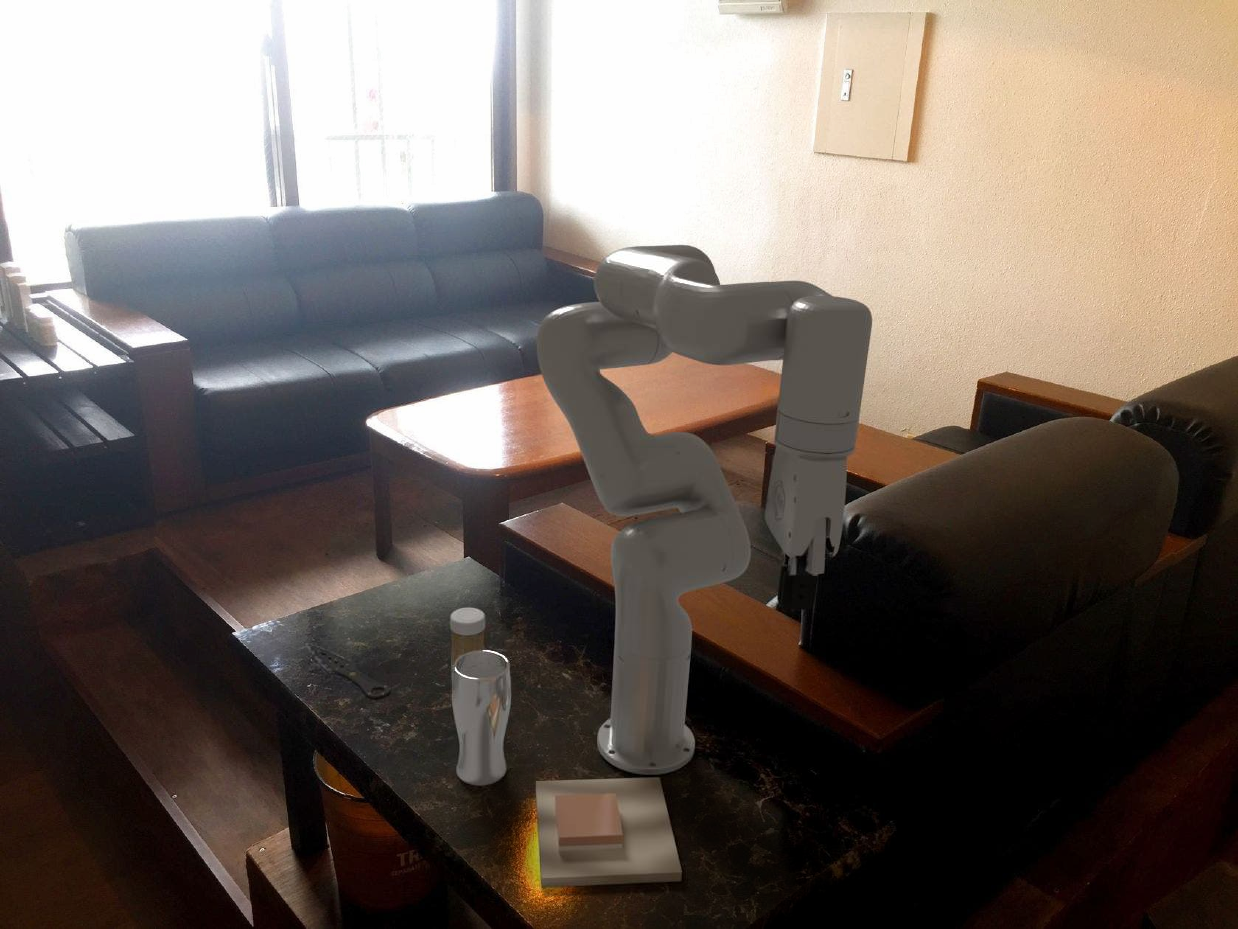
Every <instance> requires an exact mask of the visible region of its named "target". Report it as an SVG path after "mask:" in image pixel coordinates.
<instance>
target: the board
mask: <svg viewBox="0 0 1238 929" xmlns="http://www.w3.org/2000/svg"><path fill="white" fill-rule="evenodd" d="M586 794H616V798H617V804H618V810H619V815H620V821H621V827H622V833H623V841H622V848H618V849H593V850H568V851H558V841H557V829H556V817H555V796H556V795H586ZM535 801H536V802H535V803H536V817H537V819H536V820H537V838H538V854H539V868H540V870H539V871H540V872H539V873H540V888H556V887H576V886H598V885H602V886H603V885H625V884H644V883H648V884H649V883H667V882H681V881H682V878H683V876H682V875H683V871H682V866H681V862H680V859H679V854H678V848H677V846H676V842H675V836H674V833H673V830H672V829H673V828H672V824H671V820H670V817H669V812H668V807H667V803H666V800H665V796H664V791H663V786H662V783H661V778H660V777H657V776H656V777H631V778H630V777H629V778H626V777H625V778H596V779H595V778H594V779H567V780H566V779H565V780H564V779H563V780H561V779H560V780H536V781H535Z"/></svg>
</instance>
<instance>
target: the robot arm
mask: <svg viewBox="0 0 1238 929" xmlns="http://www.w3.org/2000/svg"><path fill="white" fill-rule="evenodd" d="M593 287H594V292H595V295H596V297H597V300H598V301H594V302H593V301H592V302H582V303H575V304H574V303H573V304H570V305H565V306H562V307H560V308H558V309H557V308H556V309H554V310H553V311H551V312H550V313H548V314H547V315H546V316H545V317H544V318H543V319H542V321H541V323H540V325H539V327H538V331H537V336H536V351H537V352H536V353H537V354H536V355H537V361H538V364H539V365H538V366H539V369H540V372H541V376H542V379H543V382H544V383H545V386H546V388H547V390H548V392H549V393H550V395H551V397H552V399H553V400H554V402H555V403H556V404H557V406H558V408H559V409H560V411H561V412H562V414H563V416H564V417H565V419H566V421H567V422H568V424H569V425H570V429H571V430H572V433H573V436H574V438H575V440H576V444H577V445H578V448H579V451H580V454H581V456H582V458H583V460H584V464H585V466H586V469H587V472H588V474H589V477H590V479H591V482H592V486H593V488H594V490H595V493H596V494H597V497H598V500H599V501H600V502H601V504H602V506H603V508H604V509H605V510H606V511H607V512H608V513H610V514H611V515H614V516H617V517H632V516H639V515H644V514H645V515H646V514H649V513H654V512H655V513H656V512H660V511H661V512H662V511H666V510H672V509H676V508H677V509H678V510H679V512H677V513H671V514H670V513H669V514H664V515H661V516H655V517H650V518H645V519H643V520H638V521H636V522H634V523H631V524H629V525H627V526H625V527H624V528H623V529H621V530H620V531H619V532H618V534H616V535H615V537H614V539H613V541H612V544H611V547H610V548H611V549H610V562H611V563H610V564H611V570H612V577H613V585H614V594H615V625H614V626H615V627H614V648H613V649H614V650H613V667H612V668H613V670H612V685H611V686H612V688H611V701H610V702H611V705H610V718H608V719H607V720H606V721H605V722H604V723H602V724H601V726H600V727H599V729H598V732H597V739H596V743H597V749H598V751H599V753H600V755H601V756H602V757H603V758H604V760H606V761H607V762H608V763H610V764H611V765H612V766H614V767H616V768H618V769H620V770H622V771H625V772H628V773H632V774H637V775H645V776H648V775H649V776H655V775H657V776H658V775H664V774H668V773H672V772H674V771H677V770H680V769H681V768H682V767H684V766H685V765H687V764H688V763H689V762H690V761H691V760H692V758H693V756H694V754H695V748H696V739H695V737H694V733H693V732H692V730H691V729H690V728H689V727H688V726H687V724H685V722H686V710H687V700H688V690H689V689H688V687H689V686H688V685H689V678H690V677H689V676H690V675H689V674H690V663H691V652H692V640H693V639H692V638H693V637H692V636H693V626H692V621H691V618H690V617H689V614H688V613H687V611H686V610H685V608H684V607H682V605H681V604H680V602H679V599H680V596H682V595H683V594H686V593H689V592H692V591H695V590H699V589H704V588H707V587H711V586H715V585H719V584H723V583H727V582H731V581H733V580H735V579H737V578H739V577H740V576H741V575H743V574H744V572H746V570H747V568H748V567H749V565H750V564H749V563H750V562H751V555H752V554H751V552H752V549H751V548H752V547H751V542H750V541H751V540H750V538H749V534H748V530H747V528H746V524H745V522H744V519H743V517H742V515H741V512H740V511H739V510H740V509H739V507H738V505H737V503H736V500H735V498H734V496H733V493H732V492H731V489H730V486H729V484H728V482H727V479H726V476H725V475H724V473H723V471H722V468H721V466H720V463H719V462H718V459H717V457H716V455H715V454H714V452H713V450H712V449H711V447H709V445H708V444H707V443H706V442H705V440H703V439H702V438H700V437H699V436H697V435H695V434H693V433H691V432H684V431H683V432H681V431H679V432H675V431H674V432H668V433H660V434H651V433H650V432H648V431H647V430H646V428H645V427H644V425H643V423H642V421H641V418H640V416H639V413H638V411H637V408H636V405H635V404H634V402H633V401H632V399H631V398H630V397H629V396H628V395H627V394H626V393H625V392H624V390H622V389H621V388H620V387H619V386H618V385H616V384H615V383H614V382H612V381H611V380H609V379H608V378H606V377H605V376H604V375H602V373H601V371H600V370H608V369H619V368H620V369H621V368H629V367H639V366H646V365H652V364H656V363H659V362H661V361H663V360H665V359H666V358H668V357H669V356H670V355H671V354H672V353H674V354H677V355H678V356H680V357H681V356H682V357H685V358H688V359H691V360H694V361H697V362H700V363H703V364H706V365H714V366H733V365H735V366H736V365H741V364H751V363H759V362H769V361H770V362H771V361H782V365H781V366H782V367H781V375H780V383H779V393H778V402H777V410H776V419H775V428H774V429H775V430H774V439H773V443H774V445H775V446H776V447H775V449H774V450H775V451H774V456H773V460H772V466H771V472H770V479H769V485H768V491H767V496H766V504H765V512H764V519H765V523H766V525H767V527H768V529H769V531H770V532H771V533H772V536H773V537H774V538H775V540H776V542H777V543H778V545H779V547H780V548H781V558H780V560H781V564H782V566H780V571H779V581H778V589H777V597H776V600H777V602H778V604H779V606H780V608H781V609H782V610H785V611H789V610H790V611H794V610H795V611H796V610H798V611H800V610H801V611H802V610H804V611H805V610H806V611H807V610H811V609H812V608H813V607H814V599H815V592H816V585H817V584H816V583H817V577H818V575H819V574H821V575H822V574H823V575H824V573H825V563H826V562H825V561H826V555H827V556H828V557H829V558H833V557H835V556H836V555H837V553H838V551H839V548H840V543H841V538H842V532H843V525H844V515H845V514H844V513H845V506H846V505H845V504H846V493H847V492H846V491H847V490H846V489H847V474H848V473H847V472H848V469H847V468H848V457H849V456H852V455H853V454H854V453H855V452H856V447H857V446H856V444H857V437H858V430H859V428H858V427H859V421H860V415H861V408H862V402H863V401H862V400H863V394H864V385H865V377H866V371H867V366H868V365H867V364H868V357H869V351H870V350H869V349H870V341H871V335H872V327H873V315H872V312H871V310H870V308H869V307H868V306H867V305H866V304H864V303H862V302H860V301H858V300H857V299H852V298H849V297H848V298H847V297H841V296H834V295H832V294H831V293H828V292H827V291H825V290H824V289H822V288H821V287H819V286H818V285H815V284H813V283H810V282H808V281H803V280H780V281H778V280H777V281H756V282H755V281H754V282H740V283H728V284H721V282H720V280H719V276H718V274H717V273H716V270H715V267H714V264H713V262H712V260H711V259H710V257H709V256H708V255H707V254H706V252H704V251H703V250H701V249H699V248H697V247H695V246H691V245H689V244H672V245H671V244H667V245H665V244H664V245H637V246H628V247H624V248H620V249H617V250H615V251H613V252H611V253H609V254H608V255H606V256H605V258H603V259H602V260H601V262H600V263H599V265H597V269H596V271H595V274H594V279H593Z"/></svg>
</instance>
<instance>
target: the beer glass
mask: <svg viewBox="0 0 1238 929" xmlns="http://www.w3.org/2000/svg"><path fill="white" fill-rule="evenodd" d="M510 666H511V663H510V661H509V659H508V658H507V657H506V656H505V655H504V654H501V653H500V652H497V651H493V650H486V649H484V650H479V651H472V652H468V653H465V654H463V655H461V656H460V657H459V658H457V660H456V661H455V663H454V674H453V685H452V684H451V697H452V702H451V703H453V704H452V711H453V717H454V723H455V727H456V731H457V736H458V741H459V742H458V743H459V754H458V760H457V764H456V770H455V772H456V775H457V777H458V778H459V779H460V780H461V781H462V782H463V783H465V784H469V785H472V786H479V787H480V786H481V787H482V786H489V785H492V784H495V783H496V782H498V781H500V780H502V778H504V777H505V774H506V772H507V763H506V758H505V754H504V752H505V751H504V740H505V734H506V732H507V731H506V730H507V725H508V720H509V718H510V717H509V716H510V712H511V711H510V710H511V703H512V701H511V700H512V699H511V698H512V683H511V682H512V680H511V672H510V671H511V668H510Z"/></svg>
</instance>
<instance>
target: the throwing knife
mask: <svg viewBox="0 0 1238 929" xmlns="http://www.w3.org/2000/svg"><path fill="white" fill-rule="evenodd" d="M303 643H304V645H305V646H306V648H307V650H308V652H309V653H310V654H311V655H312V657H313V658H314V659H315V660H316V662H317V663H318V664H319V665H320V666H321V667H322V668H323V669H324V671H325V672H327V673H328V674H330V675H340V676H343V677H344V678H346V679H348V680H350V681H351V682H352V683H354V684H355V685H356V686H358V687H359V688H360V689H361V690H362V691H363V693H364V695H365V697H367V698H370V699H375V700H376V699H381V698H384V697H387V695H390V693H391V686H390V685H389V684H387V683H384V682H381V681H377V680H374V679H372V678H370V677H369V676H367V675H366V674H365V673H363V672H361V671H360V670H358V669H357V667H356V665H357V664H356V662H355V661H354V660H351V659H349V658H347V657H345V656H343V655H340V654H338V653H335V652H334V651H331V650H328V649H326V648H323V647H321V646H317V645H315V644H312V643H309V642H306V641H303ZM375 689H383V691H382V692H379V693H374V692H372V691H373V690H375Z"/></svg>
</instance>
